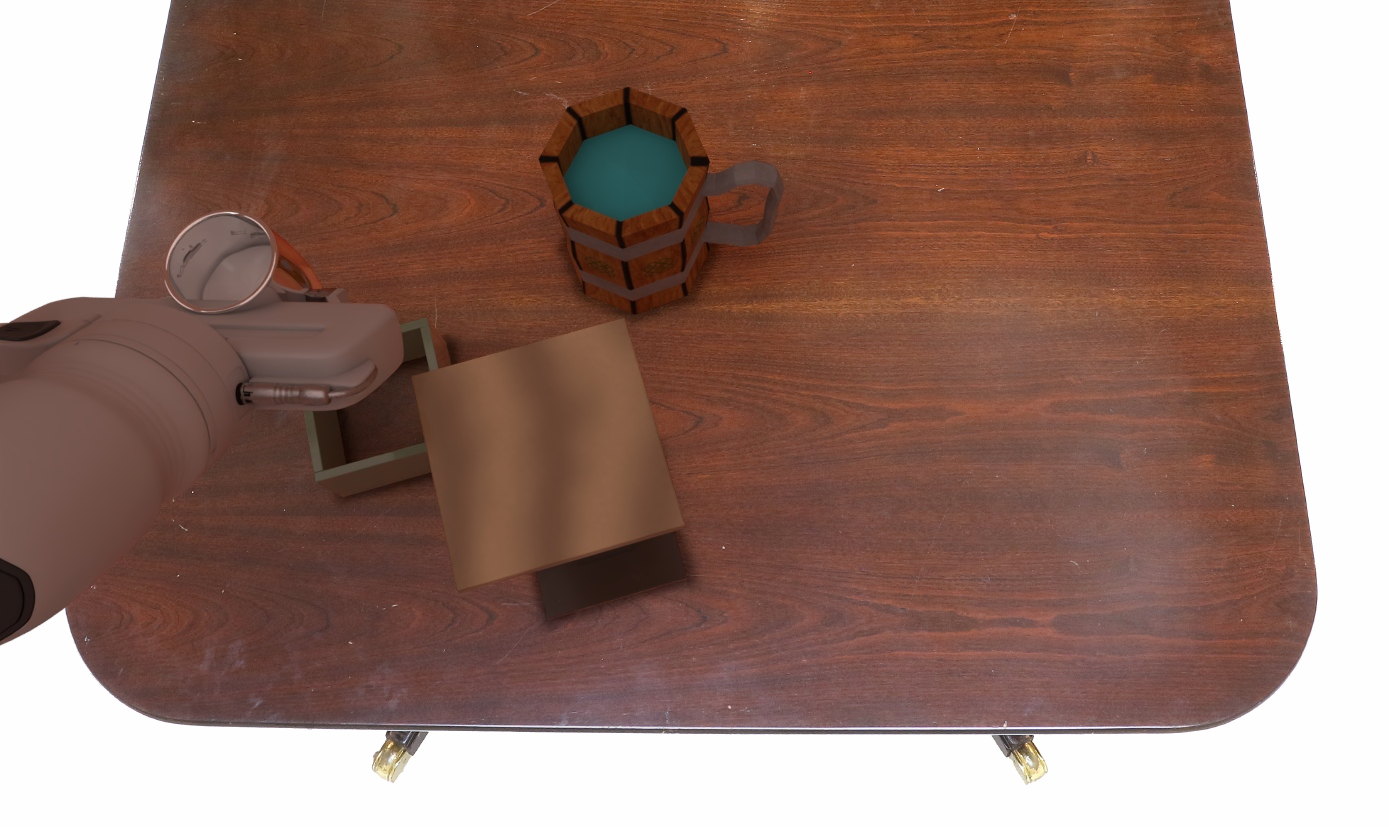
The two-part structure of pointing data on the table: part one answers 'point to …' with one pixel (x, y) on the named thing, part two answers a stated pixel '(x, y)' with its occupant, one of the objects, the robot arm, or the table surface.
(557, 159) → the mug
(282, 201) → the table surface
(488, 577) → the square wooden board
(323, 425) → the holder
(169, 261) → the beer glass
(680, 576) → the stand post
